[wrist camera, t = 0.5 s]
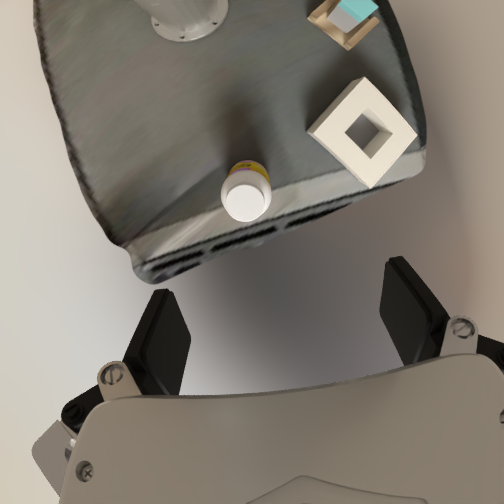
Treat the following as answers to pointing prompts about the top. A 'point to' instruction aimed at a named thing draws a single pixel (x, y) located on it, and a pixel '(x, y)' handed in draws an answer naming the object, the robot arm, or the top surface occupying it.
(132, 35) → the top surface
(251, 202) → the supplement bottle
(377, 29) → the top surface
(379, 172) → the port block
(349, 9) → the plug
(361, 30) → the cradle
